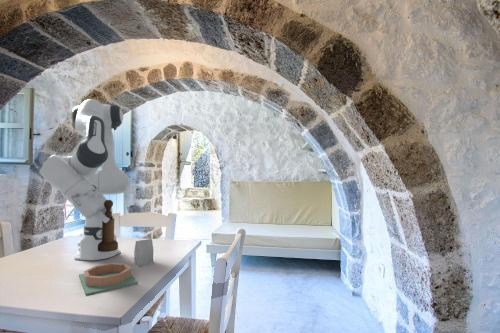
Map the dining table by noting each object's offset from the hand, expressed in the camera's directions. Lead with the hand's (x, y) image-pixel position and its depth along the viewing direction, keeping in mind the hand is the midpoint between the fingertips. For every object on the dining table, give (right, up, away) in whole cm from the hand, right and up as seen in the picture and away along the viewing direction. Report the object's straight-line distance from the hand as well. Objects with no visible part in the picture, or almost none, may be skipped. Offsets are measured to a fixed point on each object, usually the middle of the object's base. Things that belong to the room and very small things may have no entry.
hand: (110, 220), depth 104 cm
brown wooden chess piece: (-1, -11, 0) cm, 11 cm away
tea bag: (+6, -22, +18) cm, 29 cm away
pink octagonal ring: (-1, -22, 0) cm, 22 cm away
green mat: (-1, -22, 0) cm, 22 cm away
